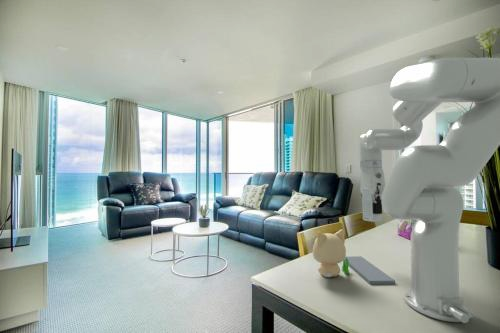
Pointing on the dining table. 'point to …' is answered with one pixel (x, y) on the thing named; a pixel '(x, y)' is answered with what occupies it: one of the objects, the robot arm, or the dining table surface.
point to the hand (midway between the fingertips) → (372, 211)
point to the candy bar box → (405, 228)
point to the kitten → (330, 253)
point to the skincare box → (369, 207)
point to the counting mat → (368, 271)
